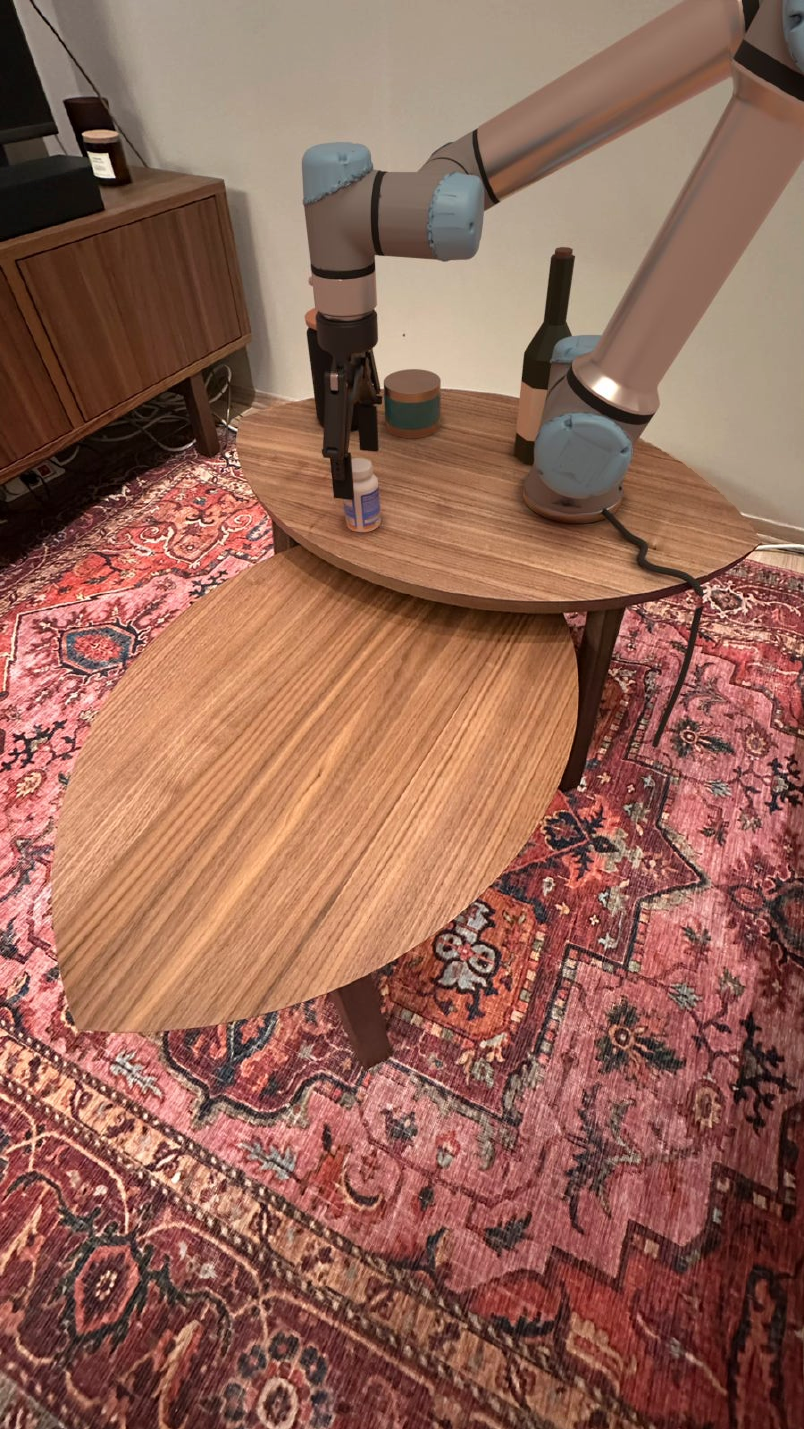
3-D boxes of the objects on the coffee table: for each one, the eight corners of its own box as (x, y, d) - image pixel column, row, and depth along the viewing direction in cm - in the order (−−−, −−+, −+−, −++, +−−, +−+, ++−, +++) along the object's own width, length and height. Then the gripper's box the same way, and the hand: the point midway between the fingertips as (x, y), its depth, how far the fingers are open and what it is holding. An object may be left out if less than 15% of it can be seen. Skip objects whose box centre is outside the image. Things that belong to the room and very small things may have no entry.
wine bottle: (503, 456, 117) (521, 251, 95) (531, 438, 121) (554, 237, 99) (544, 471, 113) (573, 262, 91) (571, 452, 117) (606, 247, 95)
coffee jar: (341, 402, 133) (331, 299, 119) (385, 416, 128) (380, 310, 115) (305, 424, 127) (290, 318, 114) (350, 439, 123) (340, 330, 109)
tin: (450, 430, 124) (451, 385, 118) (400, 443, 121) (398, 398, 115) (424, 408, 130) (424, 364, 124) (376, 420, 127) (373, 376, 121)
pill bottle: (383, 514, 106) (379, 455, 99) (378, 534, 103) (375, 474, 95) (348, 513, 107) (342, 454, 100) (343, 533, 103) (336, 473, 96)
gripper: (344, 275, 91) (355, 429, 107) (281, 348, 75) (305, 517, 91) (399, 278, 90) (402, 434, 106) (347, 353, 74) (359, 523, 90)
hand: (357, 473), depth 99 cm, fingers open, 13 cm apart
